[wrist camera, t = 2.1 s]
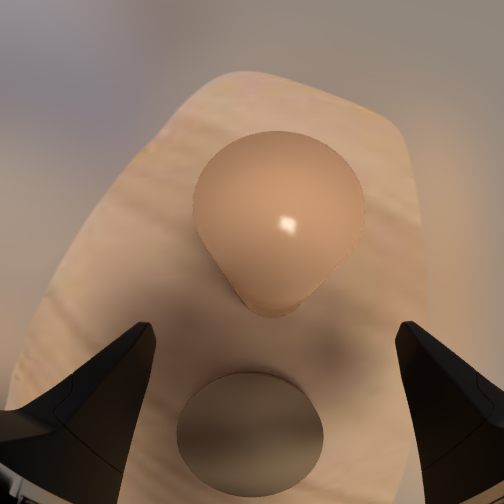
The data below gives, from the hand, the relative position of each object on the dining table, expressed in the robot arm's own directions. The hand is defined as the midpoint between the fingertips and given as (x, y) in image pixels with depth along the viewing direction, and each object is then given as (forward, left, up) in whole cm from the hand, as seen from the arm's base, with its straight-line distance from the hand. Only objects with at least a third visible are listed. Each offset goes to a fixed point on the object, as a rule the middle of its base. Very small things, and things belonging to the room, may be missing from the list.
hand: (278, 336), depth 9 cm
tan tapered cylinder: (+4, -1, -11) cm, 11 cm away
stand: (-7, +3, -11) cm, 13 cm away
